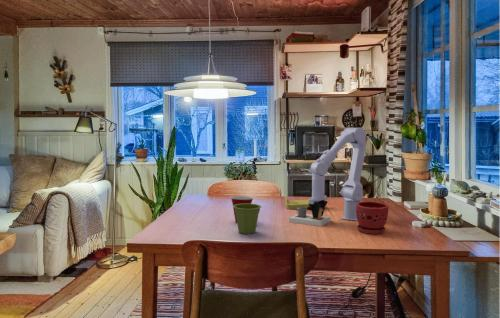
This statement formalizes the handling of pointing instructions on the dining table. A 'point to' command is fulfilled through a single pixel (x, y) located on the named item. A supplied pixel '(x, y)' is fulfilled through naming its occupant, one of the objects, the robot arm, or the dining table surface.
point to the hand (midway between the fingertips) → (317, 217)
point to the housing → (310, 220)
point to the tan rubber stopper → (319, 214)
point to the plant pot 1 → (247, 217)
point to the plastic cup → (240, 202)
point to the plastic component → (297, 203)
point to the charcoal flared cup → (302, 212)
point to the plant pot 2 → (371, 217)
